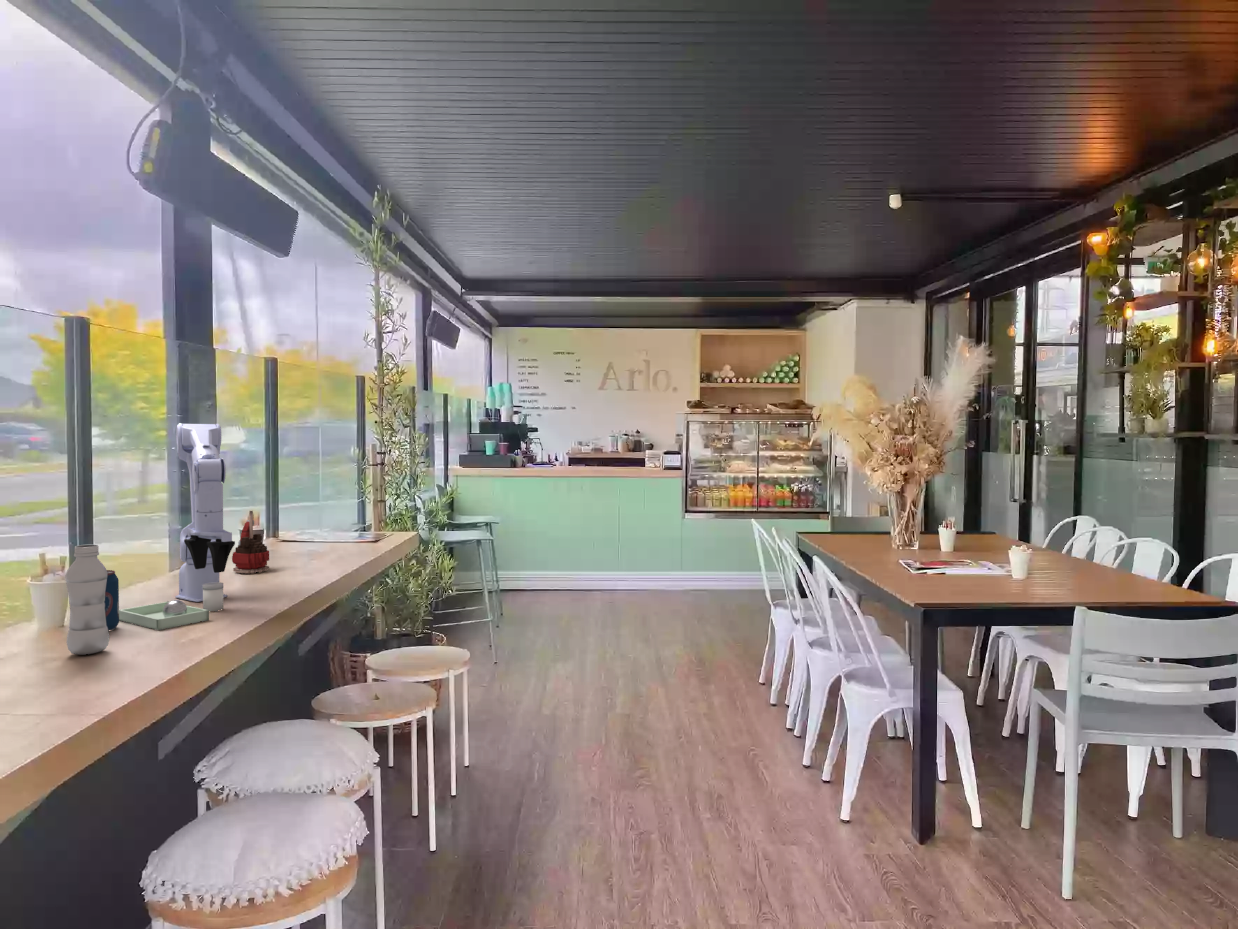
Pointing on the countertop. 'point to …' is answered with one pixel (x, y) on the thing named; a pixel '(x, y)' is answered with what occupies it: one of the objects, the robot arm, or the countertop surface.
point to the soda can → (112, 600)
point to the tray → (161, 616)
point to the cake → (250, 551)
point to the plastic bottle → (87, 602)
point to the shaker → (213, 596)
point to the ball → (174, 608)
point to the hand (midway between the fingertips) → (209, 570)
